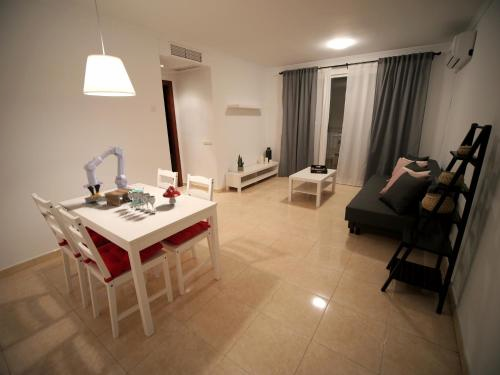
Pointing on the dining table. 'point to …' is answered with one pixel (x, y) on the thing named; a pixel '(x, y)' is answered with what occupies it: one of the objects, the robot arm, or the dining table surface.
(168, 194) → the decorative mushroom
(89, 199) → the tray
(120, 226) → the dining table surface
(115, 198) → the brown boxy piece
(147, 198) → the goblet set
